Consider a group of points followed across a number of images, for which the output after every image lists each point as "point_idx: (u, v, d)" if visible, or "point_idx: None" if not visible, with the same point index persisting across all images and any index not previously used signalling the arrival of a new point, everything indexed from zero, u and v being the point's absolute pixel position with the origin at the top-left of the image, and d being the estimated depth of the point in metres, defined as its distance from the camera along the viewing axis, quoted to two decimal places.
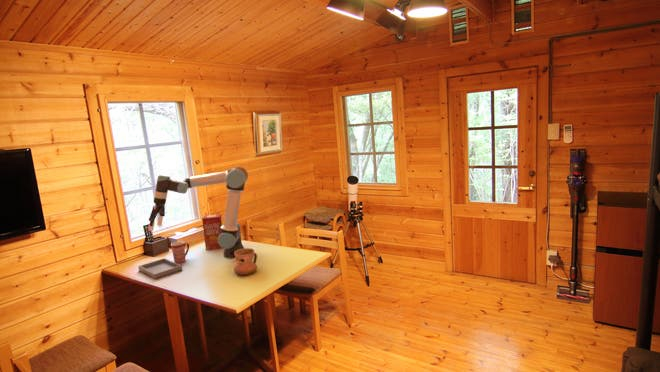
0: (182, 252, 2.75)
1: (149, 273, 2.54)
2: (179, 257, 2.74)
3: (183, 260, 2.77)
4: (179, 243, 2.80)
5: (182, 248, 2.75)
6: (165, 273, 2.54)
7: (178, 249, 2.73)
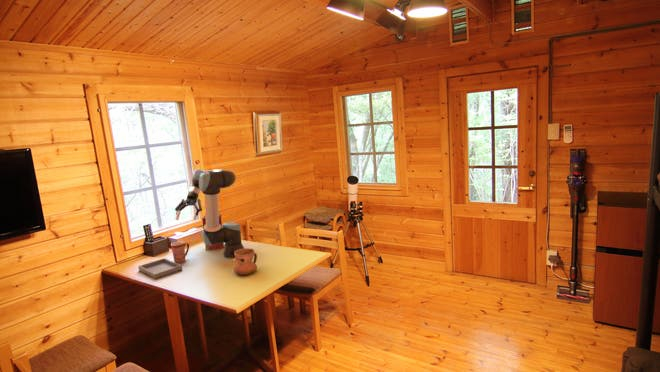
0: (182, 252, 2.75)
1: (149, 273, 2.54)
2: (179, 257, 2.74)
3: (183, 260, 2.77)
4: (179, 243, 2.80)
5: (182, 248, 2.75)
6: (165, 273, 2.54)
7: (178, 249, 2.73)
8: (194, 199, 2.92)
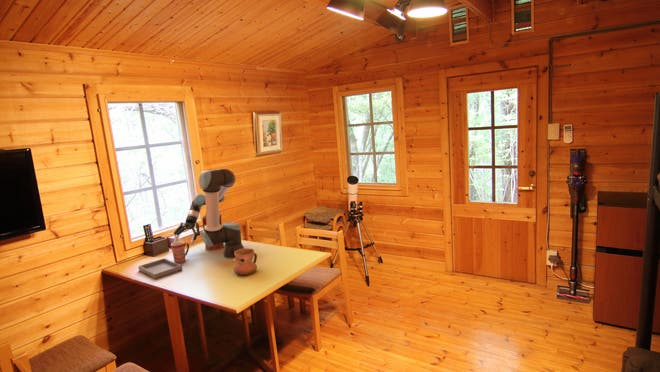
0: (182, 252, 2.75)
1: (149, 273, 2.54)
2: (179, 257, 2.74)
3: (183, 260, 2.77)
4: (179, 243, 2.80)
5: (182, 248, 2.75)
6: (165, 273, 2.54)
7: (178, 249, 2.73)
8: (192, 223, 2.91)
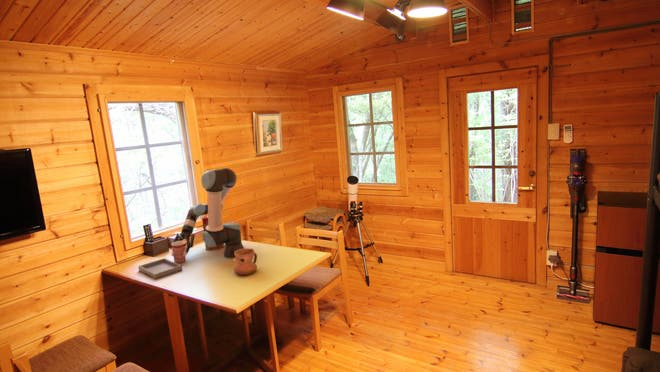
0: (182, 252, 2.75)
1: (149, 273, 2.54)
2: (179, 257, 2.74)
3: (183, 260, 2.77)
4: (180, 243, 2.80)
5: (183, 248, 2.75)
6: (165, 273, 2.54)
7: (179, 249, 2.73)
8: (189, 232, 2.84)
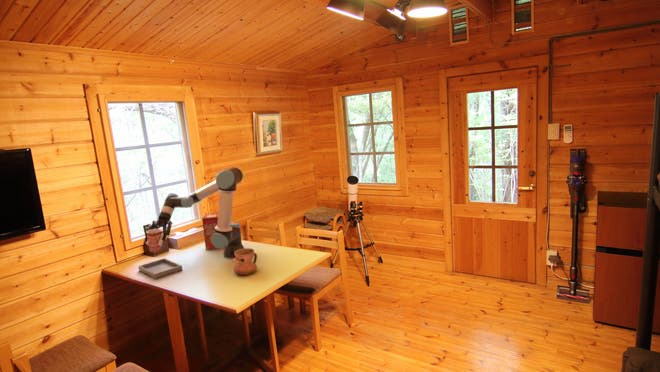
0: (158, 241, 2.57)
1: (149, 273, 2.54)
2: (155, 246, 2.56)
3: (159, 249, 2.59)
4: (156, 231, 2.62)
5: (158, 236, 2.57)
6: (165, 273, 2.54)
7: (154, 237, 2.55)
8: (166, 220, 2.66)
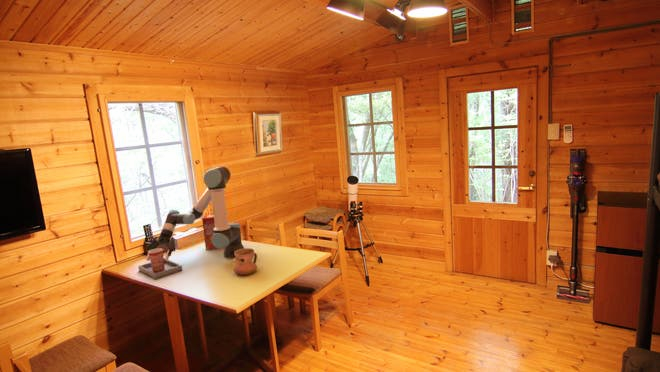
0: (161, 260, 2.59)
1: (149, 273, 2.54)
2: (157, 265, 2.58)
3: (162, 268, 2.60)
4: (157, 250, 2.63)
5: (160, 255, 2.58)
6: (165, 273, 2.54)
7: (156, 257, 2.56)
8: (167, 237, 2.67)
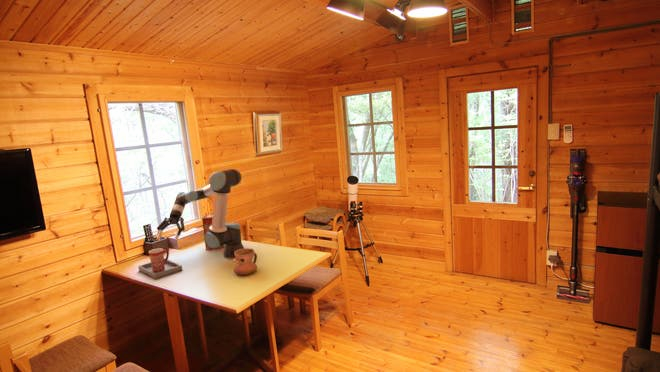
0: (161, 260, 2.59)
1: (149, 273, 2.54)
2: (158, 265, 2.58)
3: (162, 268, 2.60)
4: (158, 250, 2.63)
5: (161, 256, 2.58)
6: (165, 273, 2.54)
7: (156, 257, 2.56)
8: (177, 218, 2.78)
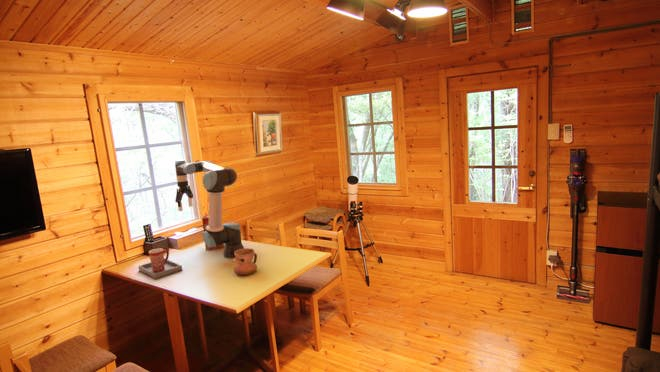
0: (161, 260, 2.59)
1: (149, 273, 2.54)
2: (158, 265, 2.58)
3: (162, 268, 2.60)
4: (158, 250, 2.63)
5: (161, 256, 2.58)
6: (165, 273, 2.54)
7: (156, 257, 2.56)
8: None
